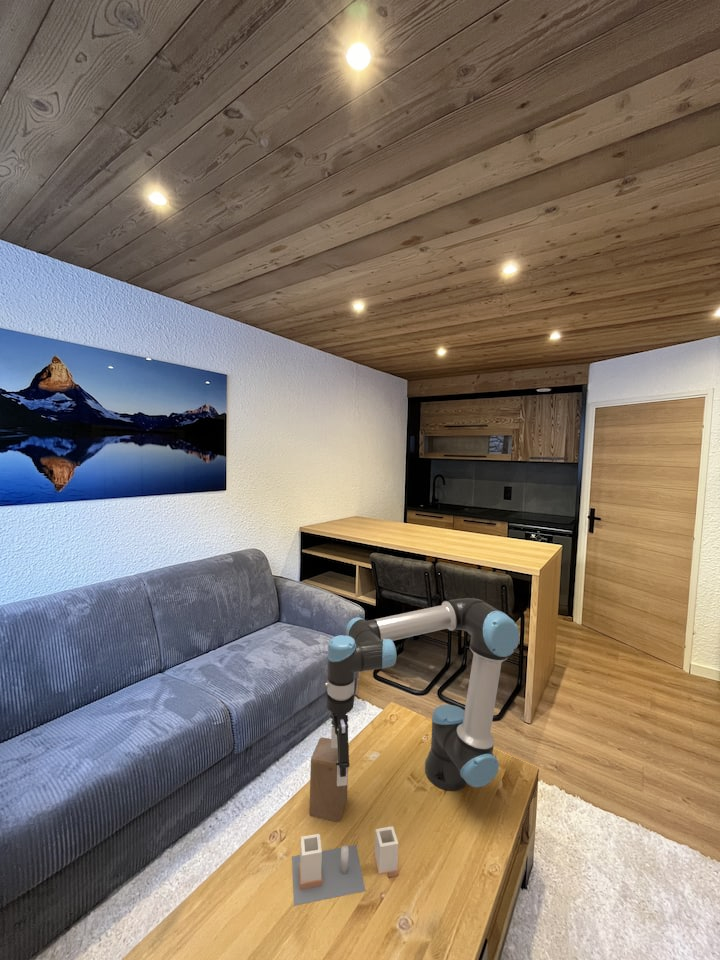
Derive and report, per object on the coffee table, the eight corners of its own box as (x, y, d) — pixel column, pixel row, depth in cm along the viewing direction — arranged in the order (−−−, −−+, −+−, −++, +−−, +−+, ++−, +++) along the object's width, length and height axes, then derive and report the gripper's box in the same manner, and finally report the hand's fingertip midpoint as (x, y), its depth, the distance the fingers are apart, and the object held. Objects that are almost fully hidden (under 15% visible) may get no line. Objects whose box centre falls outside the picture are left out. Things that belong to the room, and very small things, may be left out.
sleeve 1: (319, 863, 107) (320, 832, 107) (321, 885, 102) (322, 853, 101) (299, 867, 106) (299, 836, 106) (300, 889, 101) (301, 856, 100)
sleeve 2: (392, 855, 112) (393, 825, 111) (398, 875, 106) (399, 844, 106) (373, 858, 111) (374, 828, 110) (378, 879, 105) (379, 848, 105)
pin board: (356, 849, 113) (356, 825, 112) (365, 896, 101) (366, 869, 101) (291, 861, 109) (292, 836, 109) (293, 911, 97) (294, 882, 97)
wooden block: (340, 827, 119) (342, 764, 118) (308, 820, 121) (309, 758, 120) (347, 799, 129) (349, 740, 128) (318, 792, 131) (319, 735, 130)
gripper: (322, 669, 123) (321, 734, 124) (332, 725, 98) (330, 805, 100) (347, 667, 124) (345, 732, 126) (362, 722, 100) (359, 801, 101)
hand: (338, 764), depth 113 cm, fingers open, 13 cm apart
